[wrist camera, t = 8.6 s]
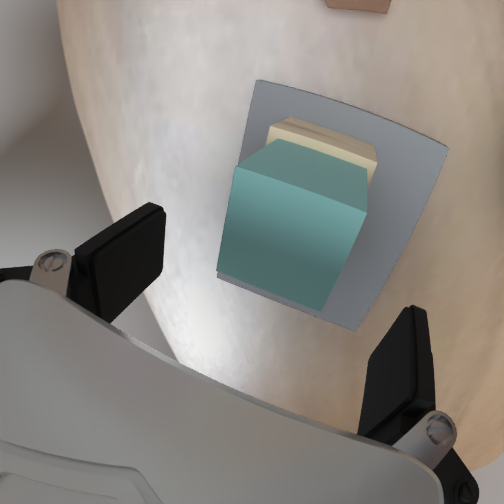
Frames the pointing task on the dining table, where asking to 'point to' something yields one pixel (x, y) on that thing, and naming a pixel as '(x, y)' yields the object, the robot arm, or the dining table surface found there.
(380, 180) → the build board
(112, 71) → the dining table surface
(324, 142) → the beech block
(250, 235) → the teal block
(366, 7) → the terracotta block
